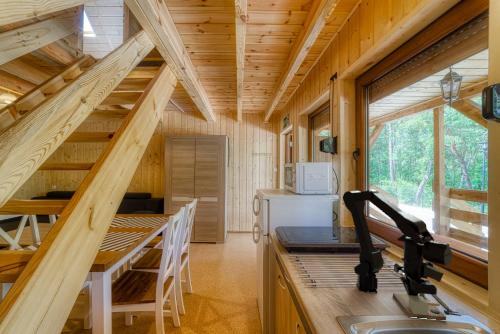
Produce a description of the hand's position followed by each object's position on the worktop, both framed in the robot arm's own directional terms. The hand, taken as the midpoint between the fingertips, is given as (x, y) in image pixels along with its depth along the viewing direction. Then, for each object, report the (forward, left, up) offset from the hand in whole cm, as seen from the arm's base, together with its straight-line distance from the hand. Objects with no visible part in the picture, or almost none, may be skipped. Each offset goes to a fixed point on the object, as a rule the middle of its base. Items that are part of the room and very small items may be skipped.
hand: (412, 302), depth 89 cm
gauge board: (+2, +1, -2) cm, 3 cm away
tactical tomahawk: (+13, +9, -3) cm, 17 cm away
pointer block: (+2, -4, -1) cm, 4 cm away
